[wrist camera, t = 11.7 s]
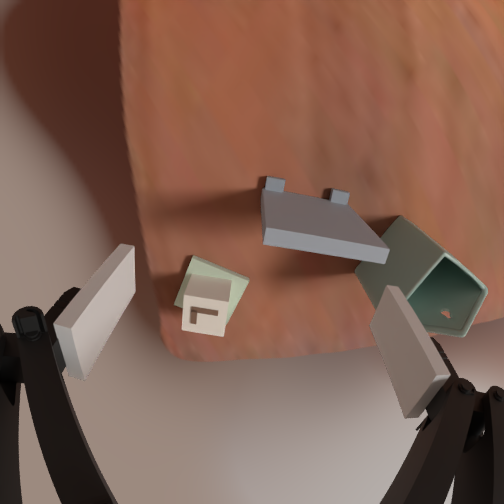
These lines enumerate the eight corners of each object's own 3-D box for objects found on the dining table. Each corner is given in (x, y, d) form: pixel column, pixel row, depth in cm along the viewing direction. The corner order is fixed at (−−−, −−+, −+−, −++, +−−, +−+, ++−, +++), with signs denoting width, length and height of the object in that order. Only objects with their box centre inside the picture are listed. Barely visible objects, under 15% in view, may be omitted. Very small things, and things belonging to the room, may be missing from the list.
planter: (443, 206, 42) (524, 260, 24) (443, 251, 45) (512, 317, 27) (349, 225, 44) (404, 299, 26) (354, 273, 47) (400, 359, 29)
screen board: (258, 210, 43) (259, 261, 29) (264, 175, 41) (269, 208, 27) (341, 225, 44) (379, 279, 29) (349, 192, 42) (395, 232, 27)
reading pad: (193, 255, 46) (192, 257, 45) (249, 277, 48) (249, 281, 47) (175, 301, 49) (173, 304, 49) (226, 321, 51) (226, 325, 50)
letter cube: (191, 273, 46) (183, 295, 41) (231, 279, 47) (228, 302, 41) (189, 306, 49) (181, 330, 43) (226, 312, 49) (223, 337, 43)
